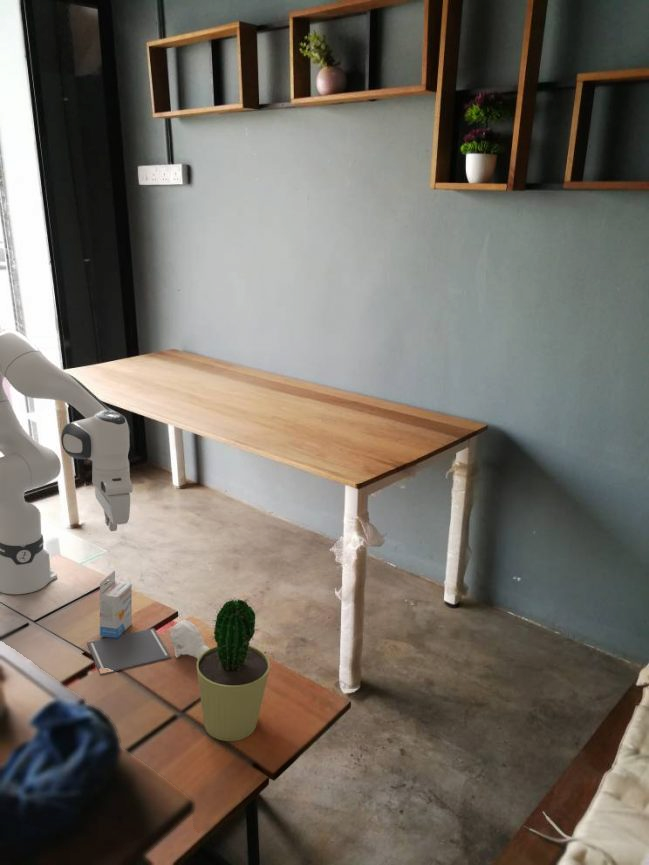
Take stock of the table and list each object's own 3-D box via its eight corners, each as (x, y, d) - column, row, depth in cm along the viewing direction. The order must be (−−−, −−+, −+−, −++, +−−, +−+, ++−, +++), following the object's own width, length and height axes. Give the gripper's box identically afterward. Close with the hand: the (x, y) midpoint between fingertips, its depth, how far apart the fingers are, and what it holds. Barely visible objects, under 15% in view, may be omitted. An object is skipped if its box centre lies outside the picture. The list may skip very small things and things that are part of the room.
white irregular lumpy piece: (187, 613, 174) (222, 635, 168) (184, 641, 177) (218, 664, 171) (168, 622, 169) (203, 645, 163) (165, 651, 172) (199, 675, 166)
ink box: (118, 639, 175) (117, 585, 172) (99, 636, 176) (98, 583, 172) (132, 623, 183) (132, 571, 180) (115, 621, 184) (114, 569, 181)
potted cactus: (227, 760, 139) (234, 628, 131) (179, 722, 148) (182, 597, 140) (281, 723, 150) (290, 600, 142) (233, 691, 160) (238, 574, 152)
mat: (87, 643, 173) (87, 642, 173) (154, 629, 182) (154, 627, 182) (100, 674, 162) (100, 673, 161) (171, 657, 170) (171, 656, 170)
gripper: (88, 464, 180) (89, 513, 183) (108, 491, 163) (108, 545, 167) (113, 462, 183) (113, 510, 187) (134, 488, 166) (134, 541, 170)
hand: (111, 527), depth 176 cm, fingers open, 2 cm apart
